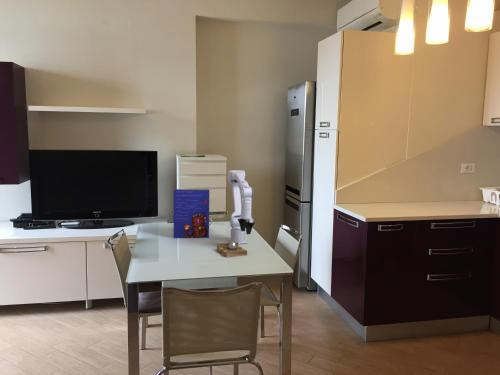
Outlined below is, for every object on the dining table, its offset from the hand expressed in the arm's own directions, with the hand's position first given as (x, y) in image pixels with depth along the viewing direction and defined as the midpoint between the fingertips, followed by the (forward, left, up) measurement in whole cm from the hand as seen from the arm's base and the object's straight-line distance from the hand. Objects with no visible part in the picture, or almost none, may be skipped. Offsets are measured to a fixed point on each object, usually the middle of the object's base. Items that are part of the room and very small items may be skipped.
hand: (245, 232), depth 248 cm
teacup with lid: (-56, -5, -10) cm, 57 cm away
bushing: (+3, -10, -10) cm, 14 cm away
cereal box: (-39, -19, -10) cm, 44 cm away
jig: (+3, -10, -10) cm, 14 cm away
